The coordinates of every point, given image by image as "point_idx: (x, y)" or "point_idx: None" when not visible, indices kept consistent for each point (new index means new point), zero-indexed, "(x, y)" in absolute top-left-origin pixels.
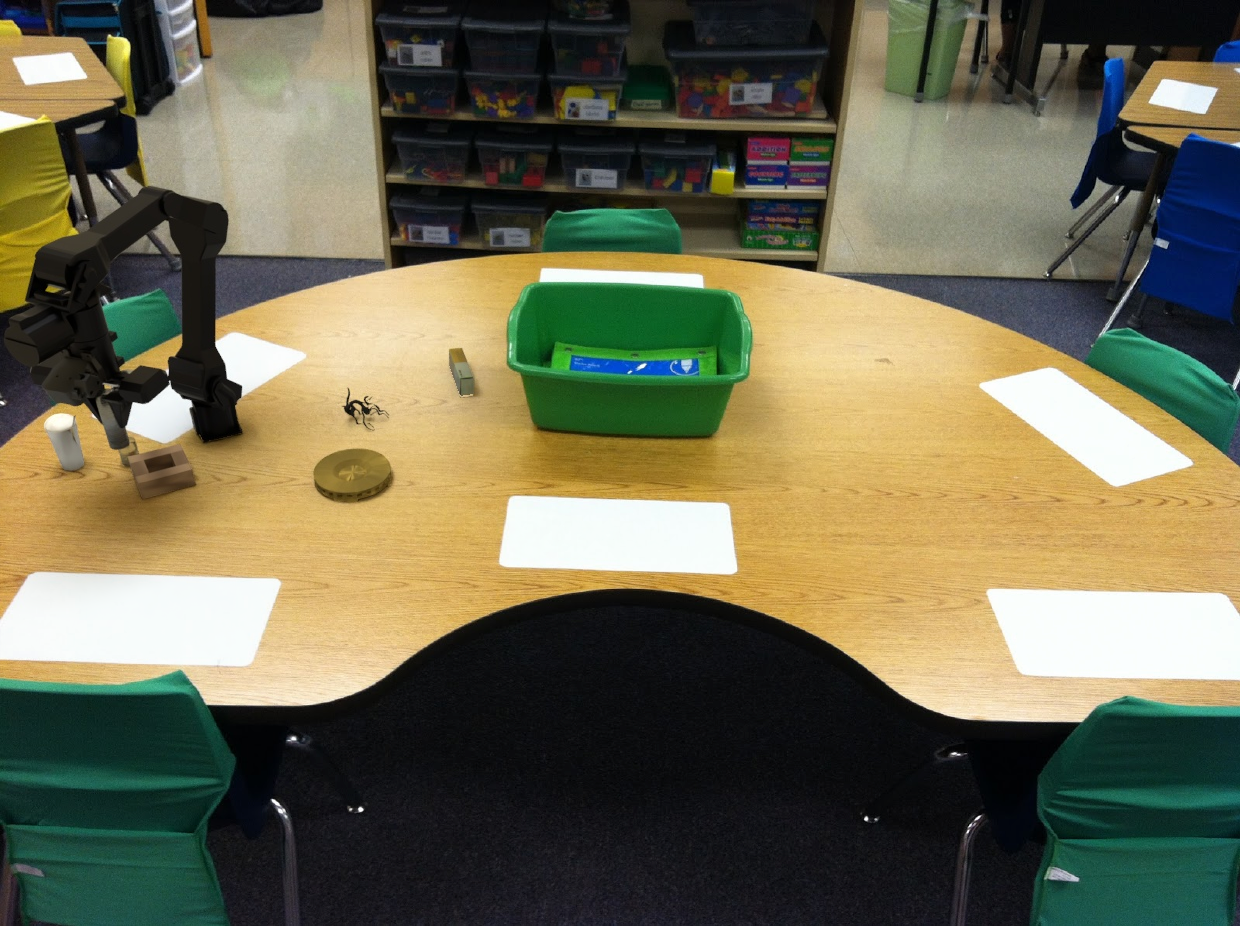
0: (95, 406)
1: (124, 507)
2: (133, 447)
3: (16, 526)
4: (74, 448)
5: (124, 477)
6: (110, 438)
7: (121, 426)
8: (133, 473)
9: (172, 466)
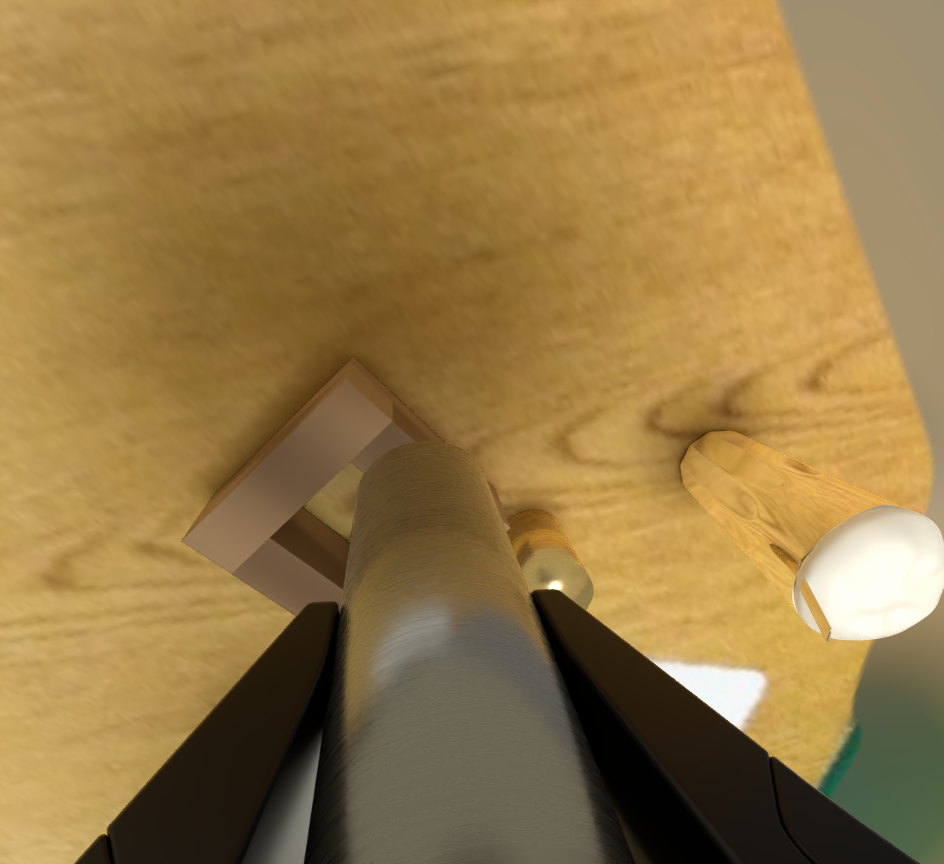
0: (664, 818)
1: (389, 287)
2: None
3: (760, 32)
4: (736, 497)
5: (505, 456)
6: (434, 486)
7: (306, 617)
8: None
9: None
